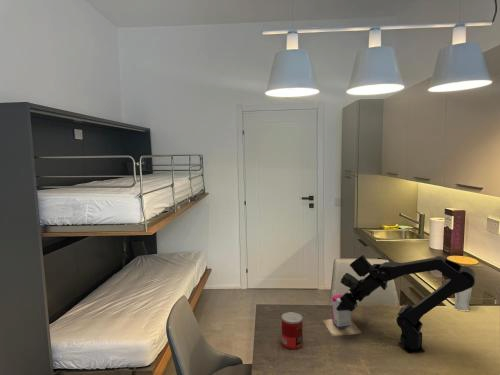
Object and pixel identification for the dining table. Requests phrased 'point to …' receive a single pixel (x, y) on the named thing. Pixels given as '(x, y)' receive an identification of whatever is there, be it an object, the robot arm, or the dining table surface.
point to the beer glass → (463, 299)
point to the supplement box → (340, 313)
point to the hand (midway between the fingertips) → (340, 305)
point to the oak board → (341, 331)
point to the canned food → (292, 330)
